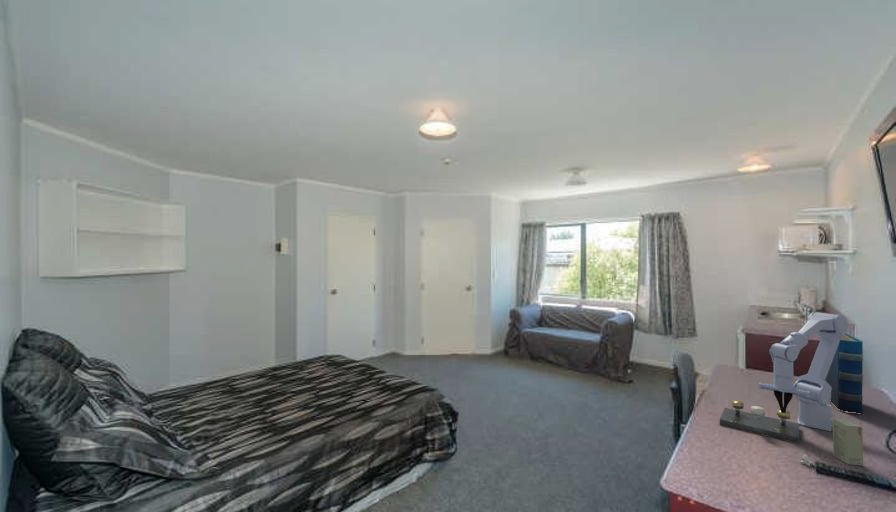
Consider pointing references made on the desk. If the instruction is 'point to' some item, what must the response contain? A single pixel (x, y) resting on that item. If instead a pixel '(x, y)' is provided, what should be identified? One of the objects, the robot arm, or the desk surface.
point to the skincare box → (847, 441)
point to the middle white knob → (758, 412)
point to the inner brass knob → (783, 415)
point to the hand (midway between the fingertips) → (783, 411)
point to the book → (847, 375)
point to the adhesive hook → (806, 460)
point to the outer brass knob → (737, 405)
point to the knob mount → (760, 425)
